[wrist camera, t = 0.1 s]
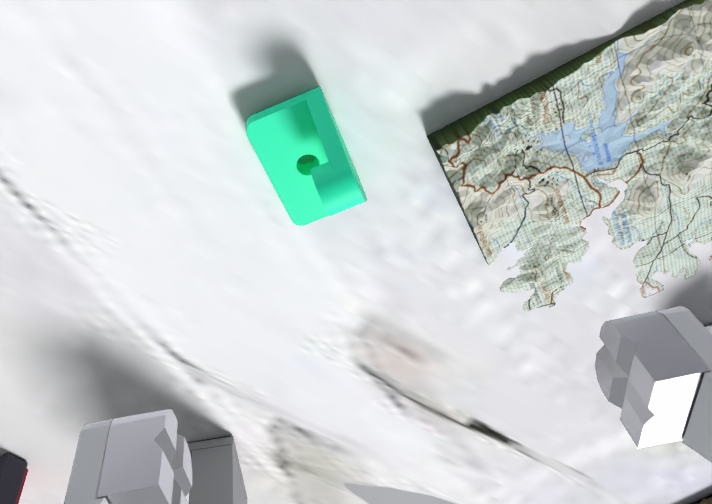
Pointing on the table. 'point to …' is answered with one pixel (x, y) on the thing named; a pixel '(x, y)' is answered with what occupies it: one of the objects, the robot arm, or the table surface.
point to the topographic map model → (595, 156)
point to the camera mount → (298, 138)
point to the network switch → (706, 501)
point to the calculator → (11, 478)
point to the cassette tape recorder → (216, 473)
